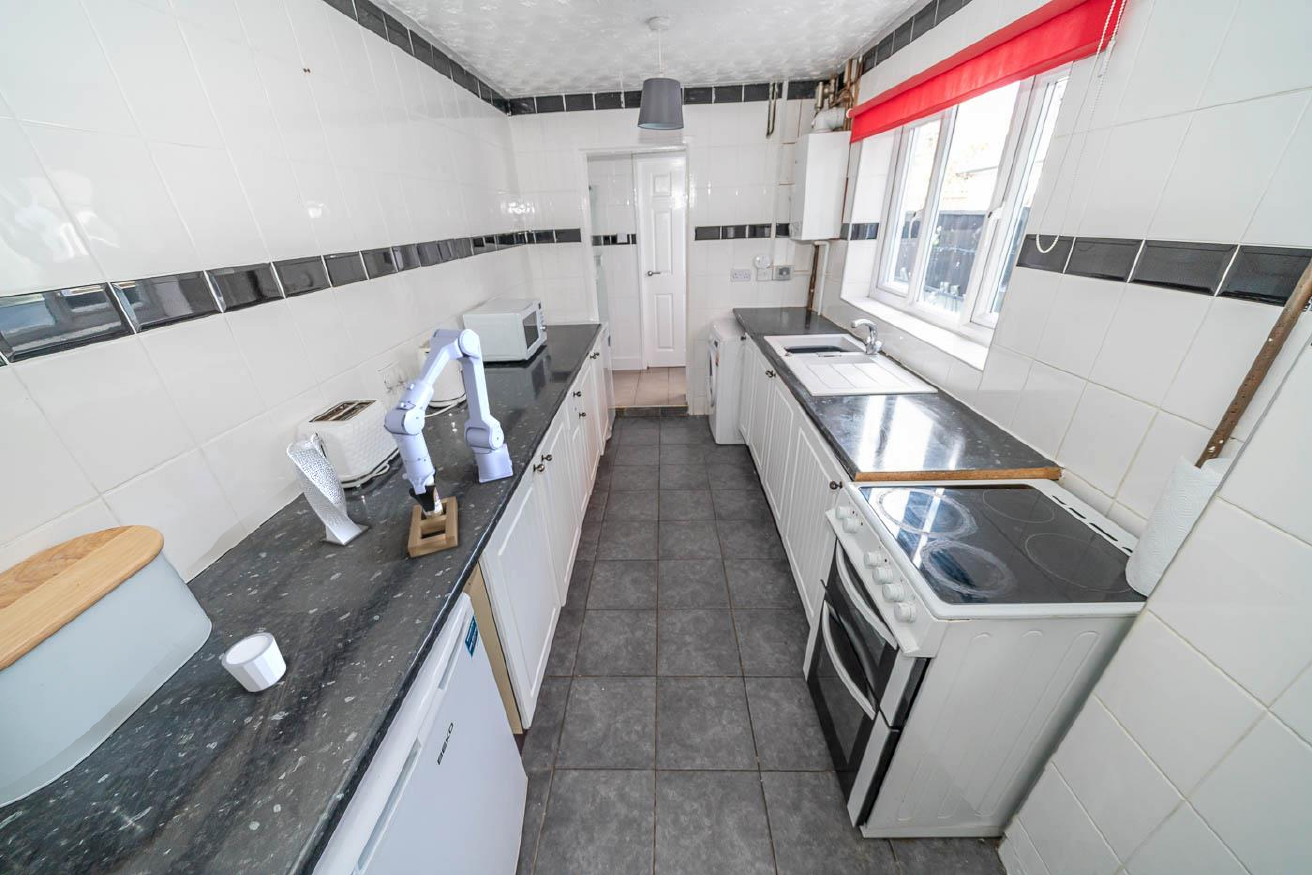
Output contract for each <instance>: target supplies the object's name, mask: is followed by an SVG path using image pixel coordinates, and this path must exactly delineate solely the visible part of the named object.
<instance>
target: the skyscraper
mask: <svg viewBox="0 0 1312 875" xmlns="http://www.w3.org/2000/svg"><path fill="white" fill-rule="evenodd" d="M314 437H315V438H316V439H314ZM321 444H322V443H321V438H320V436H319V435H317V434H315V433H313V434H311V436H310V439H303V440H300V441H297V442H296V443H292V442H290V443H289V444H288V445H287V447H286V450H285V454H286V456H287V457H288V458H289V459H290V460H291V461H292V462H293V466H294V469H295V473H296V476H297V480H298V484H299V485H300V488H301V490H302V493H303V495H304V496H305V498H306V500H307V501H308V503H309V505H310V506H311V508H312V510H313V511H314V512H315V514H316V515H317V517H318V518H319V519H320V520H321V522H322V523H323V524H324V526H325V533H326V536H325V537H323V538H322V540H323V542H329V543H332V544H337V545H340V546H346V545H347V544H348V543H350V542H351V541H353V540H354V539H355V538H357V537H358V536H360V535H361V534H362V533H364V532H365V531H367V530H368V529H370V527H369V526H368V525H363V524H360V523H359V524H358V523H355V522H354V521H352V519H350V517H349V516H348V508H347V500H346V494H345V490H344V487H343V484H342V481H341V479H340V477H339V475H338V473H337V472H336V469H335V468H334V467H333V465H332V464H331V463H330V461H329V459H327V457H326V456H325V455H324V454H323V453H322V450H321V448H322V446H321Z"/></svg>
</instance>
